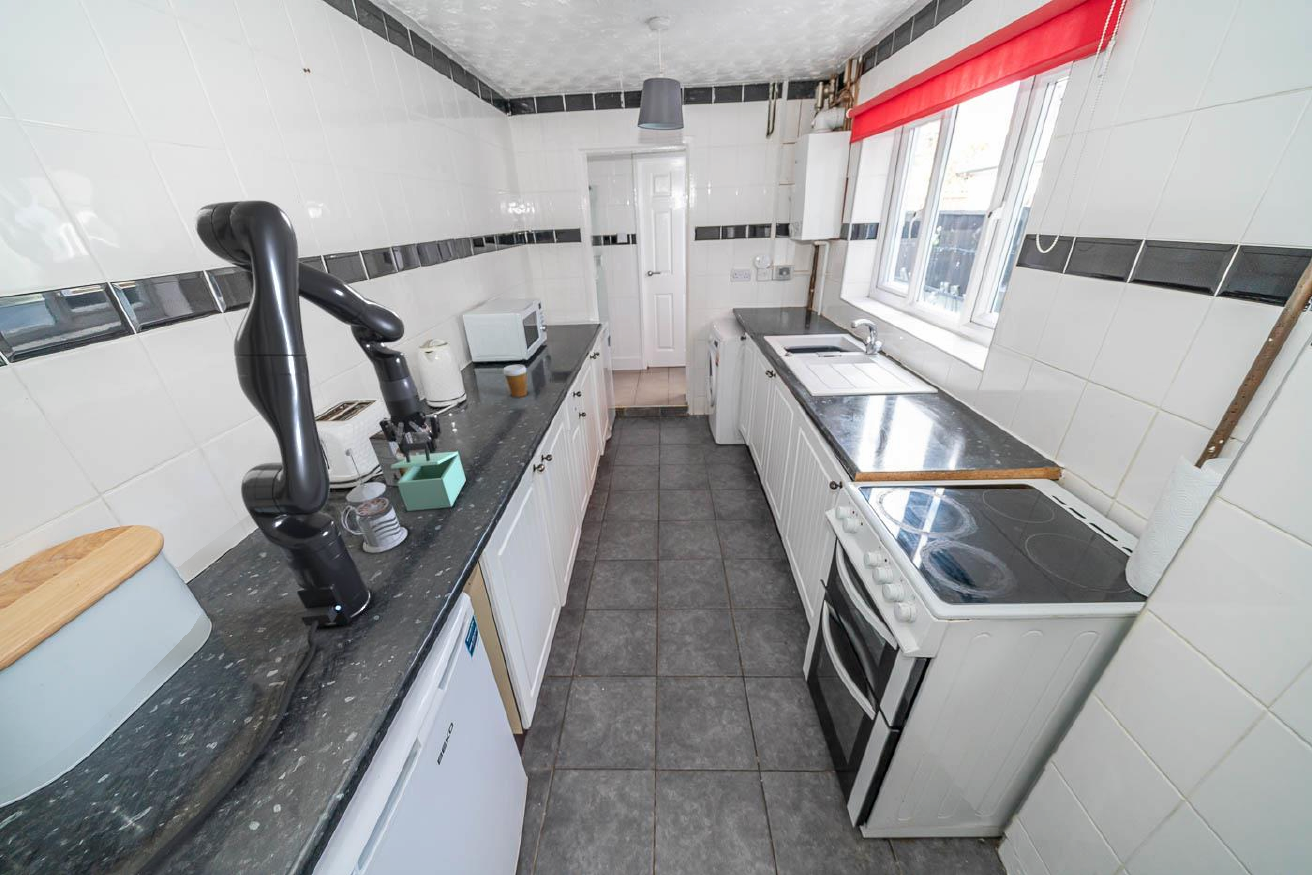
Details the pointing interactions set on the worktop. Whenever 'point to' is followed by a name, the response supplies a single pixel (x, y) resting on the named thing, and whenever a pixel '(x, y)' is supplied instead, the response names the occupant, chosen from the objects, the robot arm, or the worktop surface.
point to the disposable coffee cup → (516, 379)
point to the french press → (376, 535)
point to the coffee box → (391, 455)
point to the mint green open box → (432, 485)
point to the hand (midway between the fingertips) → (420, 453)
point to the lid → (422, 456)
